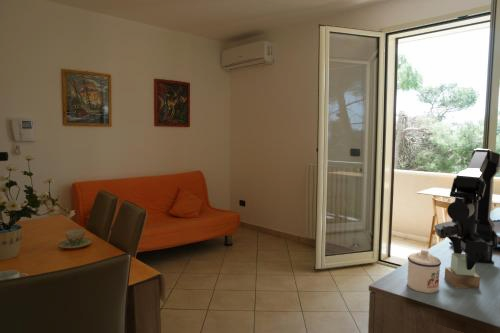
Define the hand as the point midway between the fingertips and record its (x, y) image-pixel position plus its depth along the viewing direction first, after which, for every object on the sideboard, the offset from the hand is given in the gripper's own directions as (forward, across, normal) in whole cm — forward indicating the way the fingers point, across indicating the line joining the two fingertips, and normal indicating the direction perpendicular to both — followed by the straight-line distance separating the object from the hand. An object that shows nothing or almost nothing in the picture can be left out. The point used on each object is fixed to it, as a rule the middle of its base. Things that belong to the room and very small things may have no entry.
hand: (462, 263), depth 110 cm
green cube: (+3, 0, 0) cm, 3 cm away
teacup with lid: (+6, +4, -12) cm, 14 cm away
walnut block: (+7, 0, 0) cm, 7 cm away
